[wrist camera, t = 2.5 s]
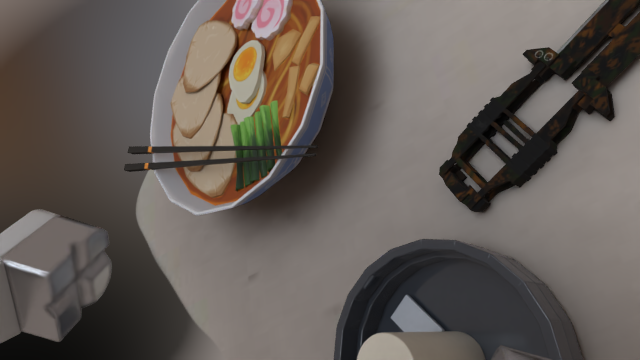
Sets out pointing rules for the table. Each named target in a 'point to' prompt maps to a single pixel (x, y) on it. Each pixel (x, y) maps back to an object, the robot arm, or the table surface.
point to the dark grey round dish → (458, 300)
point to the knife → (543, 144)
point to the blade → (419, 339)
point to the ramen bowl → (239, 100)
